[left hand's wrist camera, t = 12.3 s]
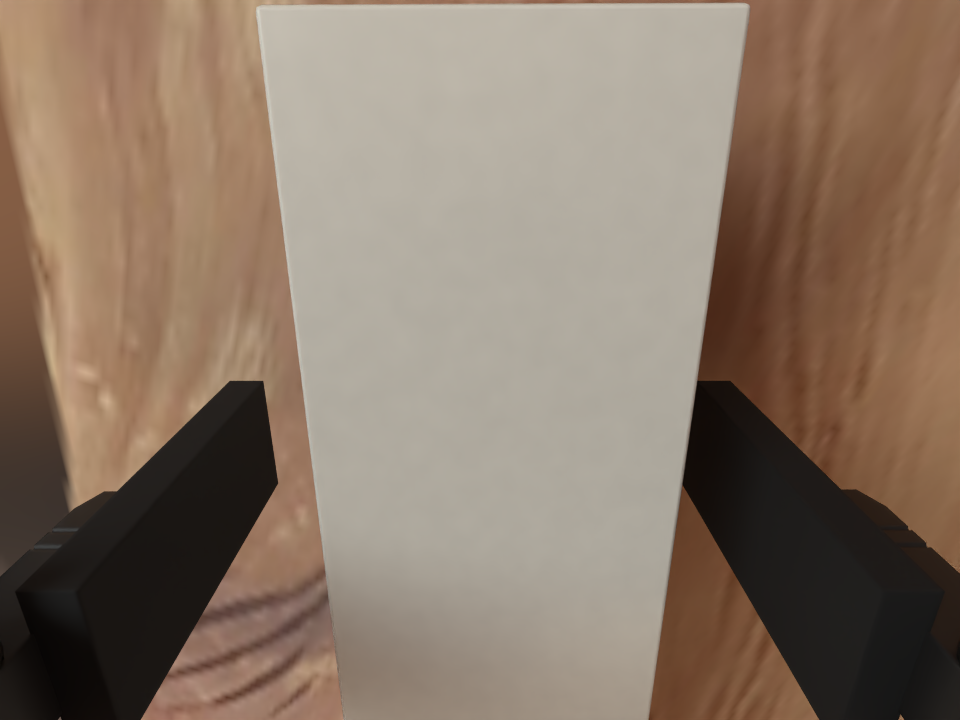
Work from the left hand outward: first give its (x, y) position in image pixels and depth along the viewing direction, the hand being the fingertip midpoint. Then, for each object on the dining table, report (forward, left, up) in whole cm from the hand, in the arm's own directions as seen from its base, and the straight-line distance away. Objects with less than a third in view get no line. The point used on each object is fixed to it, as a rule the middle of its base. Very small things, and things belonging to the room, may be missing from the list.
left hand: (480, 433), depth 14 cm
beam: (+3, +30, -3) cm, 30 cm away
